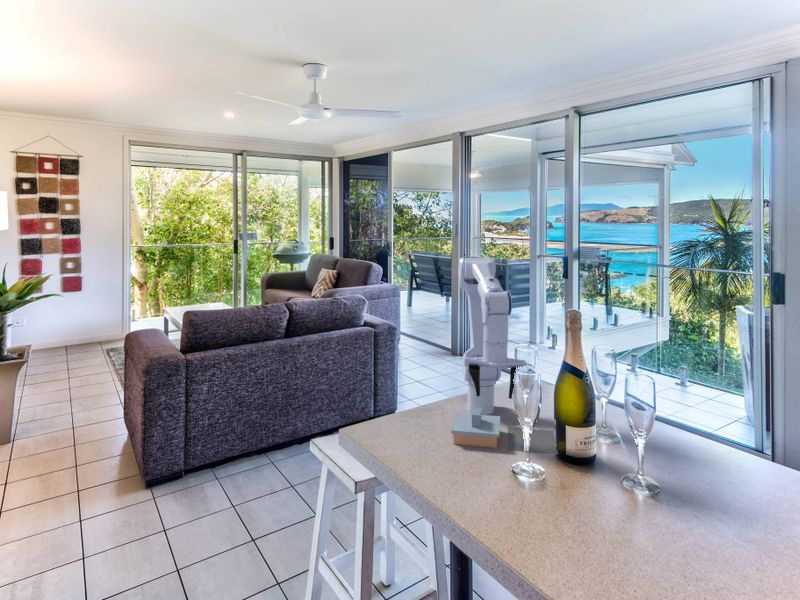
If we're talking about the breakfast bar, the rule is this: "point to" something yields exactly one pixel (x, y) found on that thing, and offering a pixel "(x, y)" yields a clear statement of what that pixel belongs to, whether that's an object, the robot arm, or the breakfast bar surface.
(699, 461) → the breakfast bar surface
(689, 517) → the breakfast bar surface
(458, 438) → the square open tray
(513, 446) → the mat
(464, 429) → the lid
